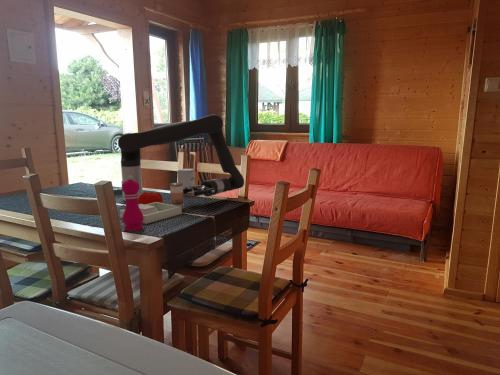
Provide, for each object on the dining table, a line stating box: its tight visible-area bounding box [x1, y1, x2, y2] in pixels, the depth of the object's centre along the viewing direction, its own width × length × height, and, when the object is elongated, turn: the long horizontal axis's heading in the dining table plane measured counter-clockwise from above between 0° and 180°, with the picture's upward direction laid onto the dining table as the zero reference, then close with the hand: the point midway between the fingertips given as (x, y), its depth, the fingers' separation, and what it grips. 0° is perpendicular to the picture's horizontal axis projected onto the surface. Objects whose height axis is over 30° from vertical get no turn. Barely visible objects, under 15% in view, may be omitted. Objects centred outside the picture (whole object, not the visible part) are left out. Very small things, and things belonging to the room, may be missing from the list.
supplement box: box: [177, 168, 196, 192], centre depth 203 cm, size 7×7×13 cm
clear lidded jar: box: [169, 182, 185, 210], centre depth 160 cm, size 6×6×12 cm
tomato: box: [138, 191, 164, 205], centre depth 170 cm, size 10×11×6 cm
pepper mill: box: [121, 176, 144, 232], centre depth 131 cm, size 7×7×20 cm
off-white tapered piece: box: [138, 204, 157, 215], centre depth 146 cm, size 10×6×5 cm, turn 53°
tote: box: [119, 202, 183, 225], centre depth 150 cm, size 16×18×4 cm
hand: (187, 192), depth 165 cm, fingers open, 8 cm apart
